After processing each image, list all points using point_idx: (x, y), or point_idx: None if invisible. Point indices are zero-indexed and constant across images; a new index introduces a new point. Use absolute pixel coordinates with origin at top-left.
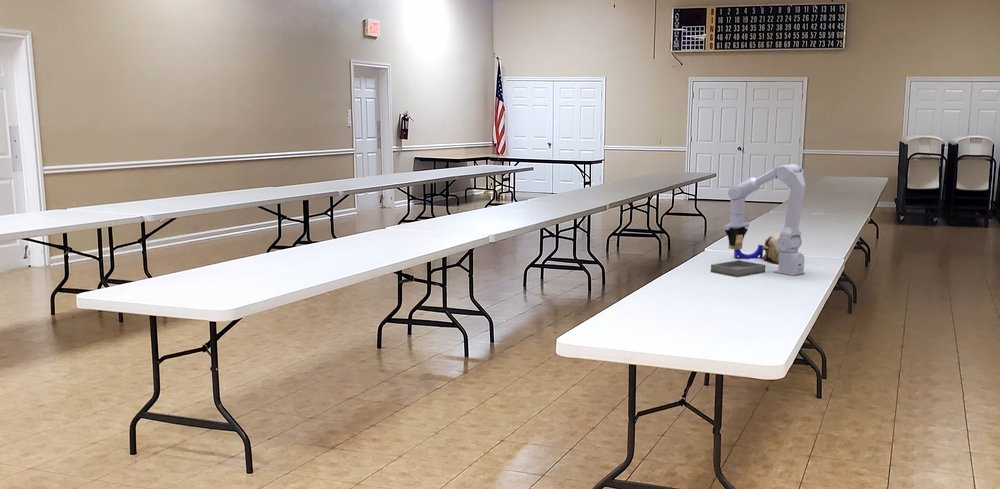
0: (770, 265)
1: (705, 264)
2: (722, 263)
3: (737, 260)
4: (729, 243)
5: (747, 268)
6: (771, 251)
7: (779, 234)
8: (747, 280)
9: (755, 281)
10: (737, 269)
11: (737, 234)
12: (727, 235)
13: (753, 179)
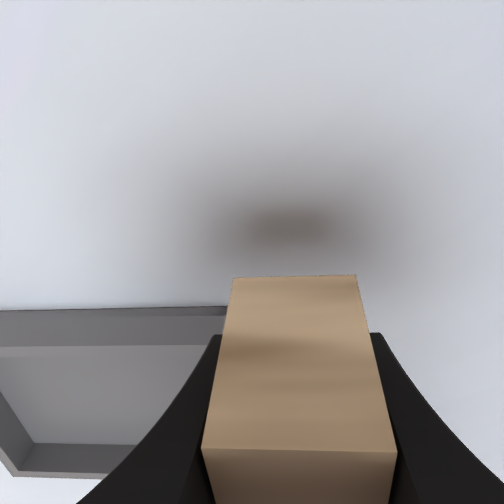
0: (467, 371)
1: (48, 87)
2: (22, 355)
3: (199, 349)
4: (226, 332)
5: (89, 476)
6: None
7: None
8: (38, 480)
9: (59, 498)
10: (11, 474)
11: (358, 496)
12: (133, 451)
13: None
